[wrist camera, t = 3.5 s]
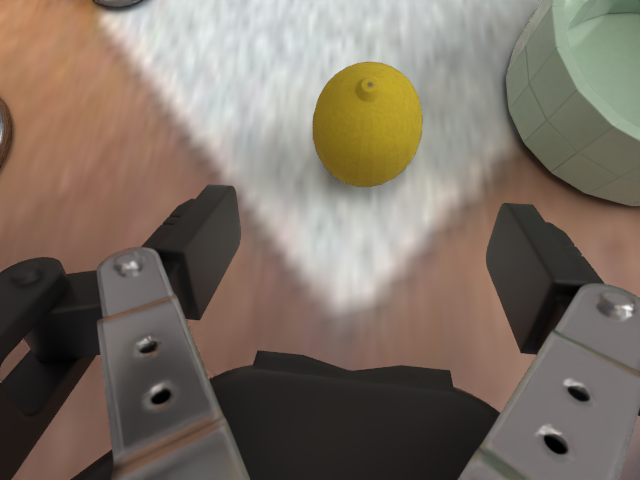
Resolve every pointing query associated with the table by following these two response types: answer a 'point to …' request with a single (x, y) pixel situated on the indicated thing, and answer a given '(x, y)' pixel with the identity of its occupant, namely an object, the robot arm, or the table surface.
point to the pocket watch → (116, 2)
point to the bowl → (581, 94)
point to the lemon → (367, 124)
